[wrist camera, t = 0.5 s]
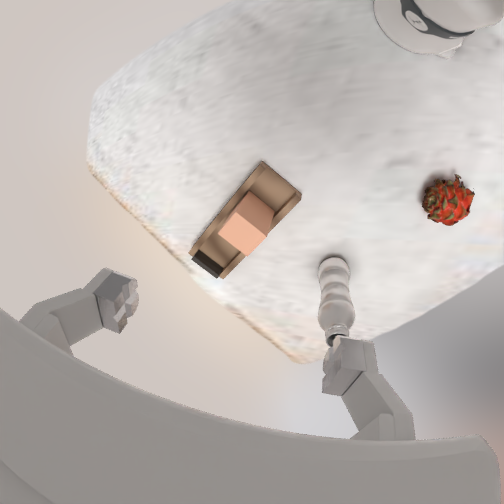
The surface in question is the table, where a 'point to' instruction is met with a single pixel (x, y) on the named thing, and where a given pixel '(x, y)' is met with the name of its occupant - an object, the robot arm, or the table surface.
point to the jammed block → (247, 224)
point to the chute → (211, 243)
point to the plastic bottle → (335, 299)
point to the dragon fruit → (447, 201)
